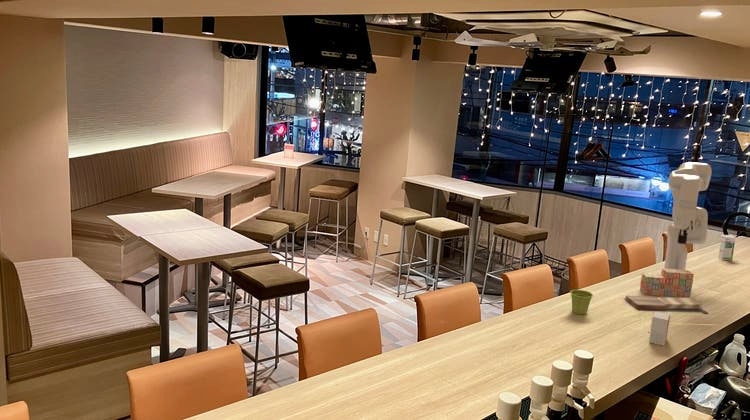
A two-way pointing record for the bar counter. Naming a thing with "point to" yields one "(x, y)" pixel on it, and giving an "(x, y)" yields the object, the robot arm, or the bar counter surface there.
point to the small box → (659, 328)
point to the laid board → (646, 302)
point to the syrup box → (726, 247)
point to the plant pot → (580, 301)
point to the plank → (679, 303)
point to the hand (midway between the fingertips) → (681, 243)
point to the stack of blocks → (668, 283)
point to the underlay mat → (676, 310)
